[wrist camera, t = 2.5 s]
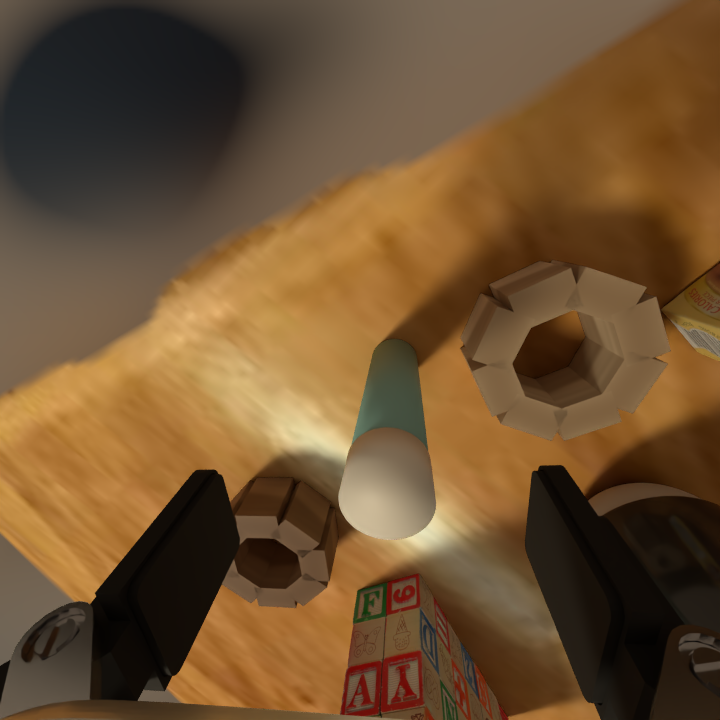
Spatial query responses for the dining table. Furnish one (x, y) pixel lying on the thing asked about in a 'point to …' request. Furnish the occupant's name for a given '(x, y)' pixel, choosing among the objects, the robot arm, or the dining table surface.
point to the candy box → (699, 314)
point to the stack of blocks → (411, 660)
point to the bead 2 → (591, 362)
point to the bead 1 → (299, 543)
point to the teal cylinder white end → (389, 451)
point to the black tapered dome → (671, 544)
